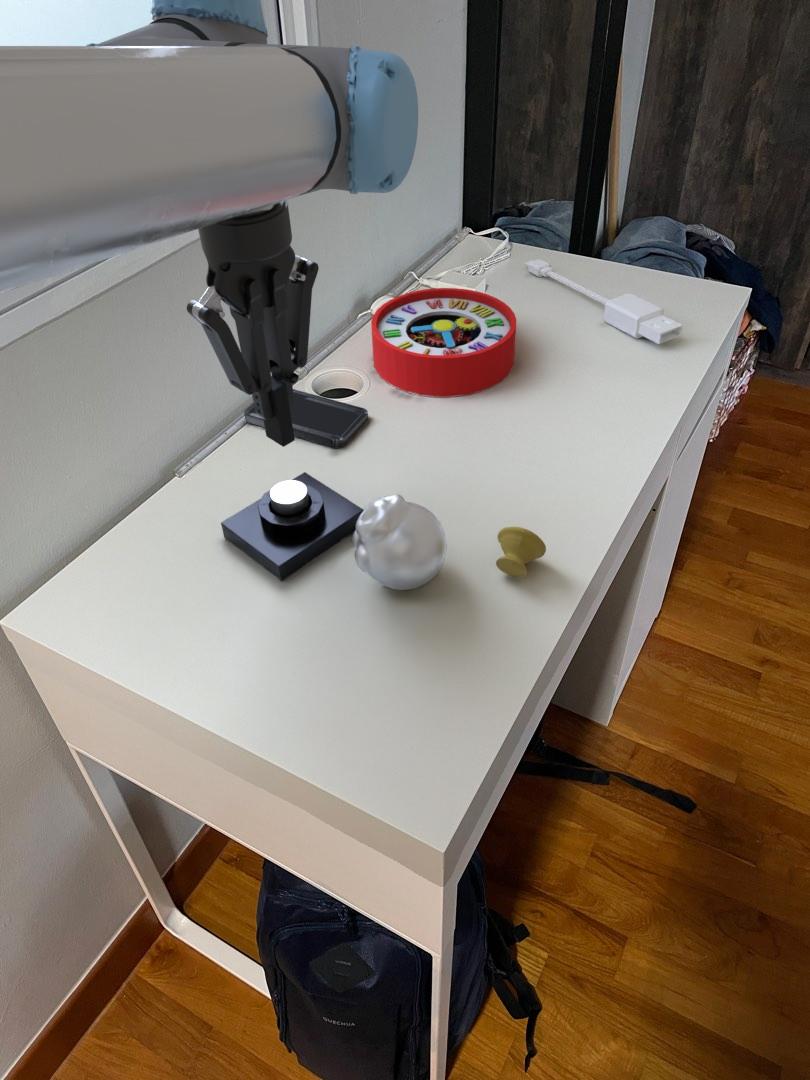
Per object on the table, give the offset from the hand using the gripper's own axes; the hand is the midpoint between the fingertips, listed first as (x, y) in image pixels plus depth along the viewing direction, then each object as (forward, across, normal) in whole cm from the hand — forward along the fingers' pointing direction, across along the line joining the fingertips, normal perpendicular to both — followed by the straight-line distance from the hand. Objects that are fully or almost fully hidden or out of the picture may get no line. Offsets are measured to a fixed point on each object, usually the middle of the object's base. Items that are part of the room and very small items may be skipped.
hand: (280, 438), depth 82 cm
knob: (+13, -12, +22) cm, 28 cm away
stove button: (+9, 0, 0) cm, 9 cm away
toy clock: (+13, -38, -12) cm, 42 cm away
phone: (+13, -15, -15) cm, 25 cm away
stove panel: (+12, 0, 0) cm, 12 cm away
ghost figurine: (+13, -3, +14) cm, 19 cm away
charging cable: (+13, -65, -5) cm, 66 cm away
